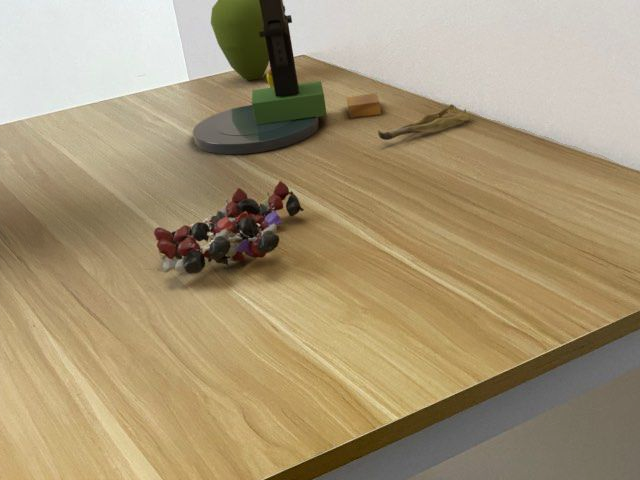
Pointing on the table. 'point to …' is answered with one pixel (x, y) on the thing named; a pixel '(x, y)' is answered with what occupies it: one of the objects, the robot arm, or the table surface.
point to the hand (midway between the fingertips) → (287, 89)
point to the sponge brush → (288, 100)
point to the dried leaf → (428, 123)
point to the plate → (249, 132)
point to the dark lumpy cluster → (227, 232)
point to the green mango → (241, 36)
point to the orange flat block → (363, 105)
